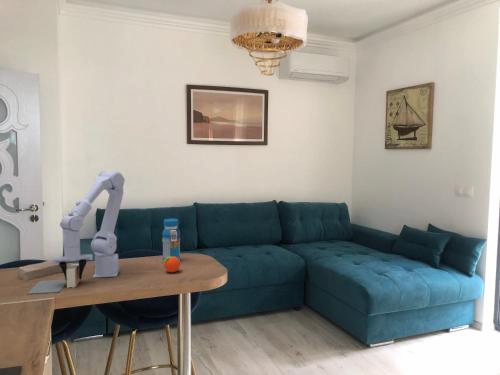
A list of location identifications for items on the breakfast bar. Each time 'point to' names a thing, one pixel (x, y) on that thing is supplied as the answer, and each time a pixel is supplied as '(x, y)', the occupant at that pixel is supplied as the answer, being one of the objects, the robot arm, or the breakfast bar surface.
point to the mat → (48, 287)
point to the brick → (38, 270)
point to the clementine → (171, 264)
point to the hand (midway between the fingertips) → (73, 279)
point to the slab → (72, 275)
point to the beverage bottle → (171, 239)
